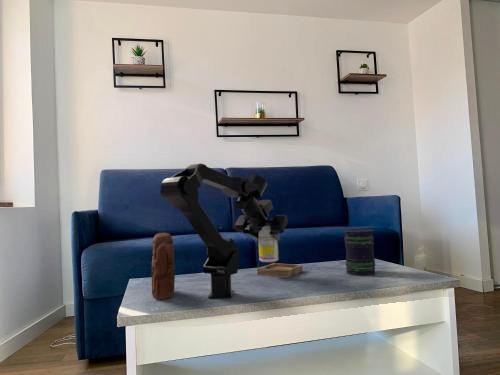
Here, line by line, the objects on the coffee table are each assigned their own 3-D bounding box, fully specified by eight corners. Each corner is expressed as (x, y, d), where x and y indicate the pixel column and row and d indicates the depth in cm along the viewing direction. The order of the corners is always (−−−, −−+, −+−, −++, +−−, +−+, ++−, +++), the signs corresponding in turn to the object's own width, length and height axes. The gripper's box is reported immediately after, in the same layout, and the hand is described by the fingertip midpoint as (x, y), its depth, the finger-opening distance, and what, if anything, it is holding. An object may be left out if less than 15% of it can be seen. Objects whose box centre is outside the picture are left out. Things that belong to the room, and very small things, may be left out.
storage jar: (378, 276, 114) (376, 231, 115) (348, 276, 116) (345, 231, 117) (372, 270, 124) (370, 228, 125) (344, 270, 126) (342, 229, 126)
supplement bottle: (268, 258, 124) (267, 222, 124) (282, 260, 119) (281, 223, 120) (255, 261, 119) (253, 224, 120) (269, 263, 114) (267, 224, 115)
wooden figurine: (151, 291, 105) (149, 232, 106) (172, 289, 107) (170, 231, 108) (153, 301, 94) (151, 235, 95) (177, 298, 96) (175, 233, 97)
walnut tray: (287, 277, 117) (286, 271, 117) (257, 274, 123) (257, 268, 124) (302, 271, 127) (302, 265, 127) (274, 268, 133) (274, 262, 133)
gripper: (284, 190, 112) (300, 222, 120) (238, 192, 122) (256, 222, 131) (273, 215, 105) (291, 247, 113) (224, 216, 115) (244, 245, 124)
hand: (270, 239), depth 120 cm, fingers closed on supplement bottle, 7 cm apart
